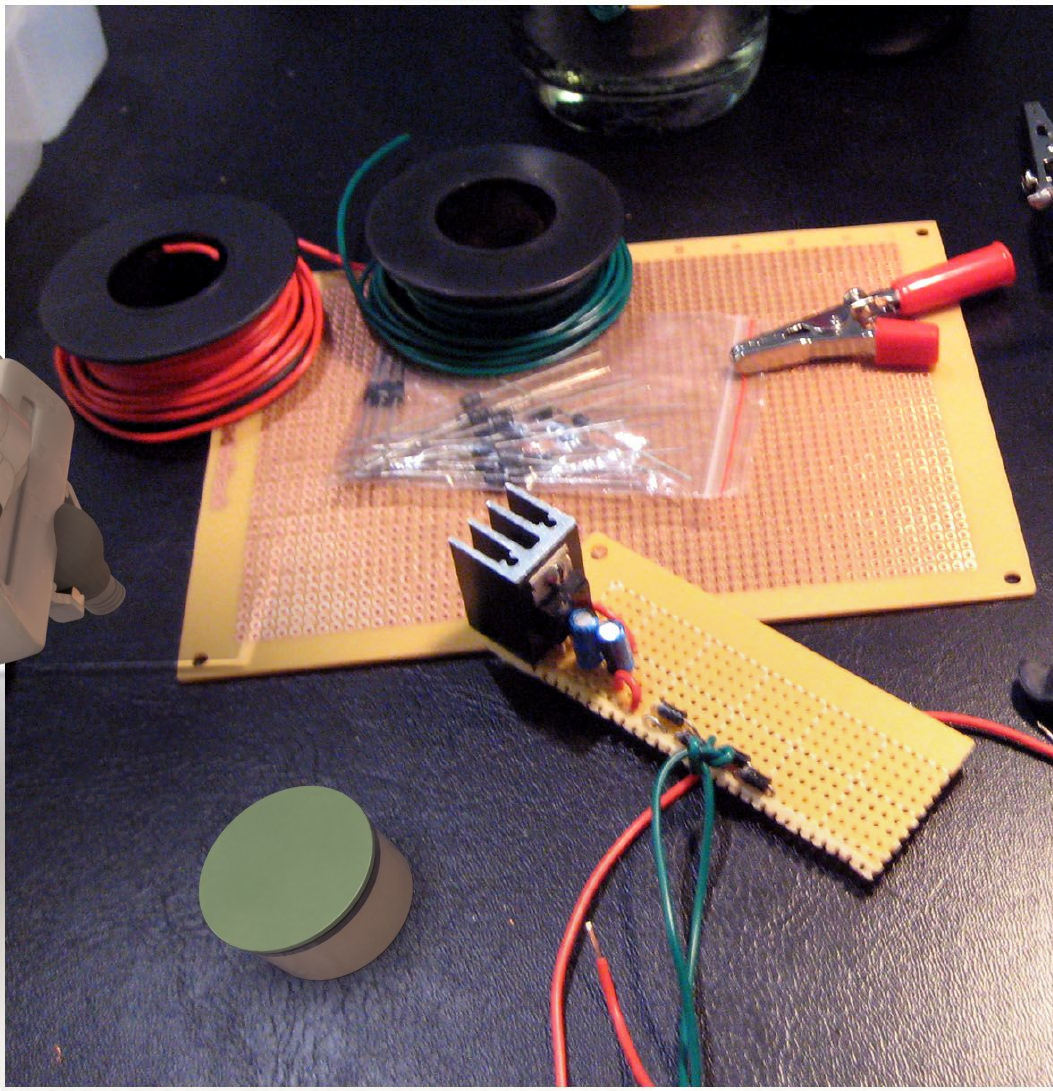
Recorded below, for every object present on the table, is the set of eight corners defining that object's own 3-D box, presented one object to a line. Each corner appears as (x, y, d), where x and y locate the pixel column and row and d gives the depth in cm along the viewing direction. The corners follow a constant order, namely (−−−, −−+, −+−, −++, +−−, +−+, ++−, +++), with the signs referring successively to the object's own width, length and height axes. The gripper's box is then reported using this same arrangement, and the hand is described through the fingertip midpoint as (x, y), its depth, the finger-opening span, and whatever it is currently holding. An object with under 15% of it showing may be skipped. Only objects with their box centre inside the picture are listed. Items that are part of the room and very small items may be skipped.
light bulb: (138, 638, 82) (47, 558, 74) (51, 641, 82) (-49, 561, 74) (166, 564, 86) (82, 480, 77) (83, 567, 86) (-10, 483, 77)
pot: (255, 1004, 86) (193, 972, 79) (260, 852, 92) (202, 809, 85) (421, 959, 87) (374, 924, 80) (414, 812, 93) (370, 767, 86)
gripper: (-93, 332, 75) (46, 468, 86) (-160, 602, 64) (9, 717, 75) (15, 309, 76) (138, 447, 87) (-34, 572, 64) (115, 691, 76)
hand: (78, 574), depth 81 cm, fingers closed on light bulb, 5 cm apart
